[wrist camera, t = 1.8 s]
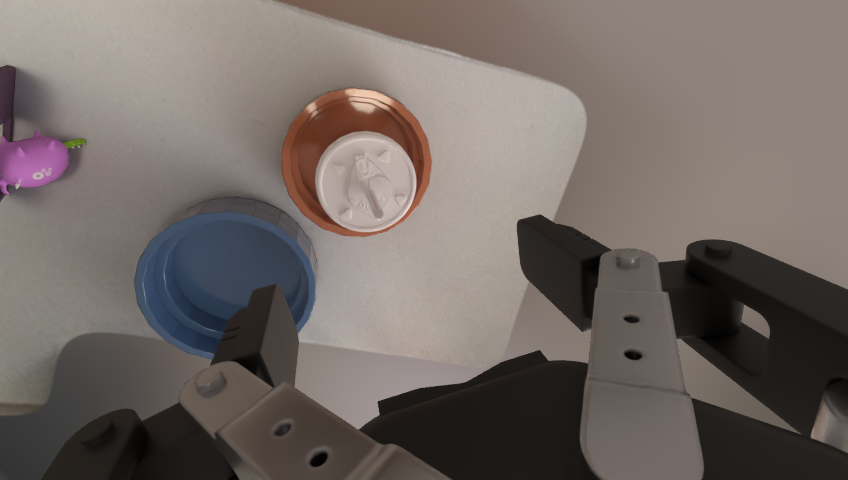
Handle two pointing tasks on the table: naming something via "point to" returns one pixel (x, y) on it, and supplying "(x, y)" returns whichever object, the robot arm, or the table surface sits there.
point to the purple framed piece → (27, 147)
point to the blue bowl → (222, 270)
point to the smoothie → (365, 181)
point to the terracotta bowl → (338, 119)
